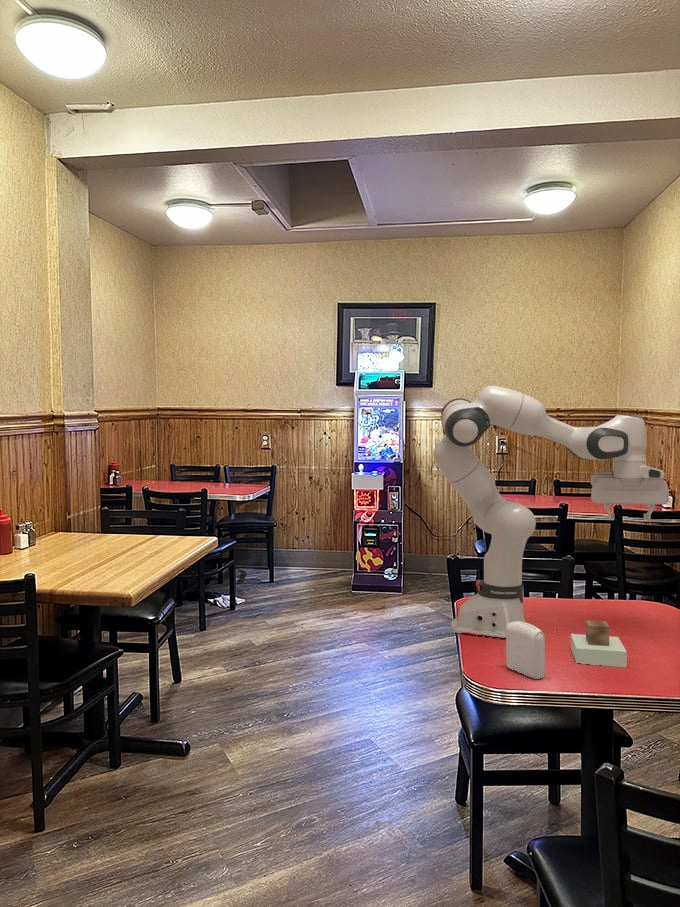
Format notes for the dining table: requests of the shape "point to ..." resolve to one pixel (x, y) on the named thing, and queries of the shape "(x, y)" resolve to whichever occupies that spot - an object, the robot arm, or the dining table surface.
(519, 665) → the white slotted box
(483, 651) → the dining table surface
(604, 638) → the walnut cube
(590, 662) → the mint base block
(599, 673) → the dining table surface
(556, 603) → the dining table surface
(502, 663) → the dining table surface
